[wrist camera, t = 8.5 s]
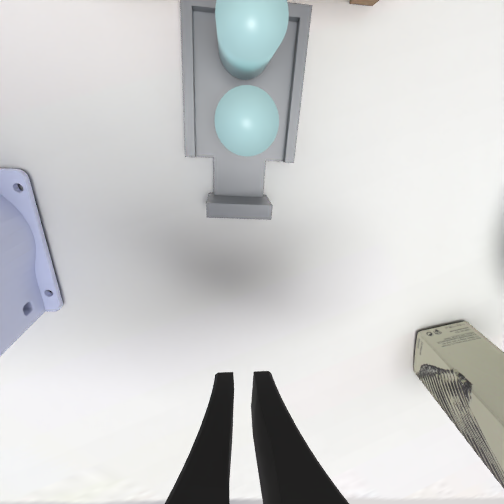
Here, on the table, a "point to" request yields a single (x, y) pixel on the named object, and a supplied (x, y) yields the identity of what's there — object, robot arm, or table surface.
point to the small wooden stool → (364, 2)
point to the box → (466, 386)
